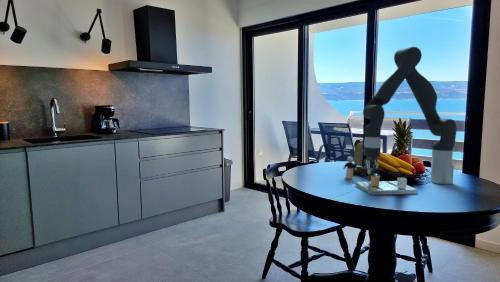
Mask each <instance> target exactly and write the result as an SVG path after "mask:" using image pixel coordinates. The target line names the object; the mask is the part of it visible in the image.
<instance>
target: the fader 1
mask: <svg viewBox="0 0 500 282" xmlns="http://www.w3.org/2000/svg"><path fill="white" fill-rule="evenodd" d="M379 182H380V176H379V175H377V174H374V176H371V185H372V186H379Z"/></svg>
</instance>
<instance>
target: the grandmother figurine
mask: <svg viewBox="0 0 500 282" xmlns="http://www.w3.org/2000/svg"><path fill="white" fill-rule="evenodd" d="M346 159H347V162H346V163H345V164H344V165H343V170H346V173H345V177H344V180H349V181H353V180H354V173H353V168H355V170H357V167H358V165H357V166H356V165H355V164H354V163H353V162H354V157H353V156H348V157H347V158H346Z"/></svg>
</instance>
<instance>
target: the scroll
mask: <svg viewBox="0 0 500 282" xmlns="http://www.w3.org/2000/svg"><path fill="white" fill-rule="evenodd" d="M353 144H354V145H353V146H354V152H353V153H354V157H353V159H354V160H353V162H354V163H353V164H355V165H356V166H357V170H355V168H353V174H356V175H359V176H360V177H362V176H363V175H368V172H367V171H366V168H365V164H364V161H366V158H367V156H365V157H363V156H364V142H362V140H360V139H357V140H356V141H355V142H354V143H353Z"/></svg>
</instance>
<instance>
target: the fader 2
mask: <svg viewBox="0 0 500 282" xmlns="http://www.w3.org/2000/svg"><path fill="white" fill-rule="evenodd" d="M396 181H397V187H398V188H400V189H406V186H407V185H408V184H407V183H408V179H407V178H406V177H397V180H396Z"/></svg>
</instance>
